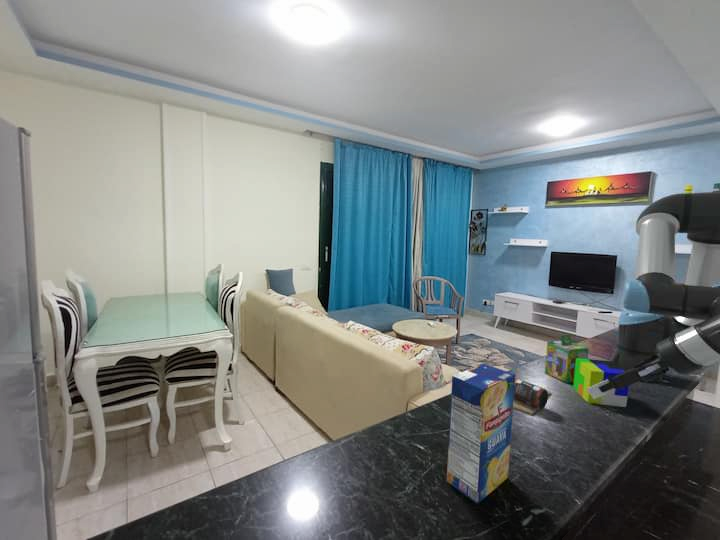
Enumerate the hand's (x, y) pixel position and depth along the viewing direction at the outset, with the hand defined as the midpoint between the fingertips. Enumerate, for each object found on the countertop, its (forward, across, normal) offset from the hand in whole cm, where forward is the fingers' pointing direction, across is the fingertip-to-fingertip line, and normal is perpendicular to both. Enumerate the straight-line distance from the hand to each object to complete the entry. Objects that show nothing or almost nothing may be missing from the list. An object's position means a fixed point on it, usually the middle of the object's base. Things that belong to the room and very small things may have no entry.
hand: (591, 393), depth 85 cm
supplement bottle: (+10, -4, +3) cm, 11 cm away
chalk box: (+18, +27, +6) cm, 33 cm away
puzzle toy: (+10, +20, -3) cm, 22 cm away
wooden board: (+19, 0, +7) cm, 20 cm away
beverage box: (+9, -41, -3) cm, 42 cm away
